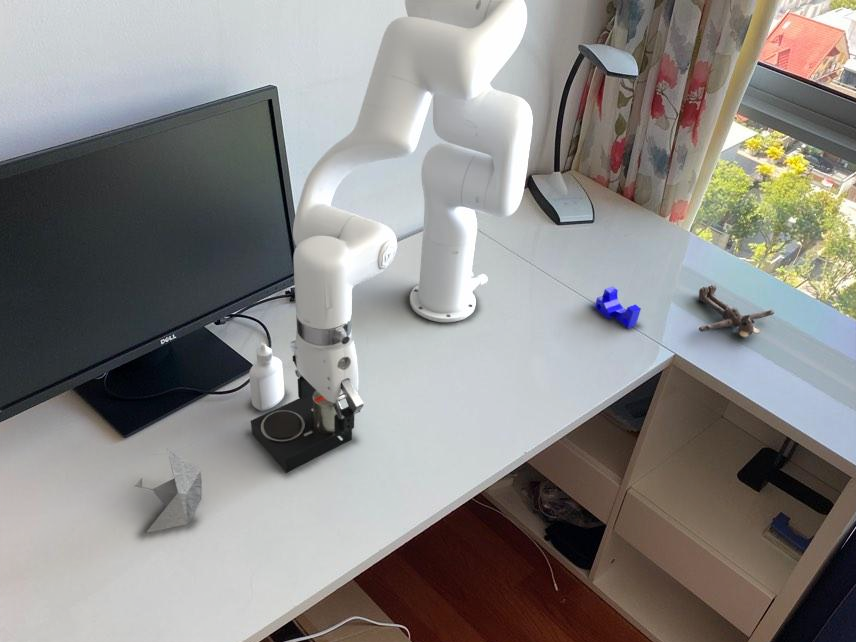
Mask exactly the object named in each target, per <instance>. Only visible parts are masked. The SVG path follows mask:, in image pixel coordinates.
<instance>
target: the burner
mask: <svg viewBox="0 0 856 642" xmlns="http://www.w3.org/2000/svg"><path fill="white" fill-rule="evenodd" d="M304 428H305V424H304V420H303V419H302V417H301V416H300V415H298V414H297V413H294V412H291V411H276V412H273V413H271V414H269V415H268V416H266V417H265V418H264V419H263V421H262V423H261V431H262V433H263V435H264V436H265V437H266V438H267V439H269V440H271V441H275V442H289V441H292V440H294V439H296V438H298V437H299V436H300V435H301V434H302V433H303V431H304Z"/></svg>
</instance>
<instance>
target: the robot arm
mask: <svg viewBox="0 0 856 642" xmlns="http://www.w3.org/2000/svg"><path fill="white" fill-rule="evenodd" d="M404 6H405V10H406V15H407V16H402V17H397V18H396V19H393V20H392V21H391V22H390V23H389V24H388V25H387V26H386V28H385V31H384V33H383V36H382V38H381V42H380V45H379V47H378V51H377V55H376V58H375V61H374V64H373V68H372V70H371V74H370V78H369V80H368V84H367V88H366V91H365V94H364V97H363V99H362V104H361V106H360V107H361V108H360V111H359V114H358V117H357V121H356V124H355V126H354V127H353V130H352V131H350V133H349V134H347V135H346V136H344V137H343V138H342V139H340V140H339V141H338V142H337V143H335V144H333V146H331V147H330V148H329V149H328V150H327V151H326V152H325V153H324V154H323V155H322V157H320V159H319V160H318V161H316V163H315V164H314V166H313V167H312V169H311V170H310V172H309V173H308V175H307V177H306V179H305V181H304V183H303V187H302V190H301V194H300V197H299V200H298V204H297V208H296V210H295V211H296V212H295V215H294V221H293V225H292V238H293V243H294V246H295V249H294V252H293V257H292V259H293V280H294V301H295V302H294V303H295V317H296V318H295V321H296V331H295V339H294V340H292V341H289V347H290V350H291V354H292V359H291V360H292V362H293V363H294V365H295V368H296V369H295V370H294V373H295V375H296V377H297V396H298V399H299V398H300V399H305V398H307V397H309V396H311V395H313V394H314V392H315V391H316V390H317V391H318V392H319V393H320V394H321V395H322V396H323V397H324V398H325V399H326V400H327V401H329V402H331V403H333V406H334V408H335V411H336V413H337V414H336V415H335V416H334V430H335V435H336V436H340V435H342V434H344V433H346V432H349V431H350V430H352V431H353V430H354V428H355V415H357V414H358V413H360V412H361V410H362V409H363V407H364V402H363V400H362V399H361V397H360V396H359V394H358V392H359V386H360V385H359V368H358V367H359V366H358V365H359V364H358V357H357V350H356V345H355V341H354V338H353V337H352V320H353V319H352V318H353V316H352V315H353V313H352V309H353V307H352V306H353V304H352V303H353V302H352V301H353V300H352V299H353V294H352V293H353V289H354V287H356V286H357V285H360V284H361V283H364V282H366V281H368V280H370V279H372V278H374V277H376V276H378V275H380V274H381V273H382V272H384V271H385V270H386V269H387V268H388V267H389V266H390V265H391V264H392V262H393V261H394V259H395V256H396V253H397V249H398V239H397V237H396V234H395V232H394V231H393V230H392V229H391V228H390V227H389V226H387V225H386V224H384V223H382V222H379V221H376V220H374V219H370V218H367V217H365V216H361V215H359V214H356V213H353V212H350V211H348V210H344V209H341V208H338V207H335V206H333V205H332V203H333V199H334V196H335V194H336V191H337V189H338V188H339V185H340V184H341V183H342V181H343V180H344V179H345V177H346V178H347V176H348V175H349V174H350V173H352V172H353V171H355V170H356V169H358V168H360V167H362V166H365V165H367V164H370V163H375V162H378V161H383V160H391V159H399V158H404V157H408V156H410V155H412V154H413V153H414V152H415V151H416V148H417V146H418V143H419V140H420V137H421V133H422V130H423V128H424V123H425V121H426V117H427V115H428V112H429V108H430V106H431V105H430V104H431V102H432V123H433V125H432V126H433V130H434V132H435V134H436V136H437V137H438V138H439V139H441V140H443V141H445V142H439V143H437V144H434V145H433V146H432V147H430V148H429V149H428V151H427V152H426V154H425V155H424V157H423V160H422V165H421V172H420V173H421V176H420V177H421V185H422V193H423V226H422V227H423V228H422V237H421V238H422V239H421V240H422V241H421V253H420V264H419V265H420V267H419V282H418V284H417V285H416V286H415V287H413V288H412V290H411V292H410V293H409V304H410V307H411V308H412V310H413V311H414V313H416V314H417V315H418V316H420V317H421V318H424V319H425V320H429V321H433V322H436V323H437V322H438V323H454V322H459V321H462V320H465V319H466V318H469V316H471V315H472V314H473V312H474V311H475V308H476V303H477V300H476V296H475V294H474V293H473V291H475V290H476V289H477V287H480V286H482V285H485V284H487V283H488V276H487V275H486V274H485V273H480V274H479V275H476V276H475V277H474V272H473V271H472V270H473V262H474V254H475V245H476V240H477V233H478V232H477V231H478V220H477V217H476V216H477V215H476V212H478V213H481V214H484V215H487V216H491V217H495V218H507V217H509V216H512V215H513V214H514V213H515V212H516V211H517V209H518V208H519V206H520V204H521V201H522V198H523V194H524V190H525V184H526V178H527V171H528V165H529V164H528V163H529V155H530V148H531V141H532V134H533V133H532V132H533V113H532V109H531V106H530V104H529V103H528V102H527V101H526V100H525V99H524V98H523V97H521V96H518V95H516V94H512V93H509V92H506V91H502V90H498V89H495V88H493V87H492V86H491V81H492V80H493V79H494V78H495V77H496V75H497V74H498V72H499V71H500V70H501V69H502V68H503V67H504V65H505V64H506V63H507V61H508V60H509V59H510V58H511V57H512V56H513V54H514V52H516V50H517V48H518V46H519V45H520V43H521V40H522V39H523V36H524V33H525V30H526V26H527V22H528V21H527V20H528V11H527V4H526V2H525V0H404ZM341 392H342V393H341ZM344 399H345V401H346V403H347V406H346V407H344V408H343V407H342V405H341V401H343V400H344ZM339 401H340V403H339Z"/></svg>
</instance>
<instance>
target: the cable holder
mask: <svg viewBox="0 0 856 642" xmlns="http://www.w3.org/2000/svg"><path fill="white" fill-rule="evenodd" d="M618 291H619V290H618V289H617V288H616V287H615V286H610V287H606V288H604V291H603V294H602V295H600V296H598V297H596V301H595V304H594V309H595V310H596V311H597V312H599V313H600V314H601V315H602V316H603V317H605V318H606V319H607V320H610V319H613V318H615V320H617V322H619V323H620V324H622V326H624V327H625V328H627V329H631V328H633V327H637V323H638V319H639V316H640V313H641V311H642V308H641V307H640V306H638V305H637V304H633V305H630V306H627V308H624V307H623V305H622V304H621V303H620V301H619V297H618Z"/></svg>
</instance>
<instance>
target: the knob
mask: <svg viewBox="0 0 856 642" xmlns="http://www.w3.org/2000/svg"><path fill="white" fill-rule="evenodd" d="M339 403H340V404H341V400H340V401H339ZM336 414H337V413H336V411H335V408H334V406H333V403H331V402H329V401H327V400H326V399H325V398H324V397H323V396H322V395H321V394H320V393H319V392H318V391H317V390H316V391H315V392H314V394H313V419H314V428H315V429H316V430H317V431H318V432H320V433H324V434H329V433H333V432H335V430H334V416H335V415H336Z"/></svg>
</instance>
